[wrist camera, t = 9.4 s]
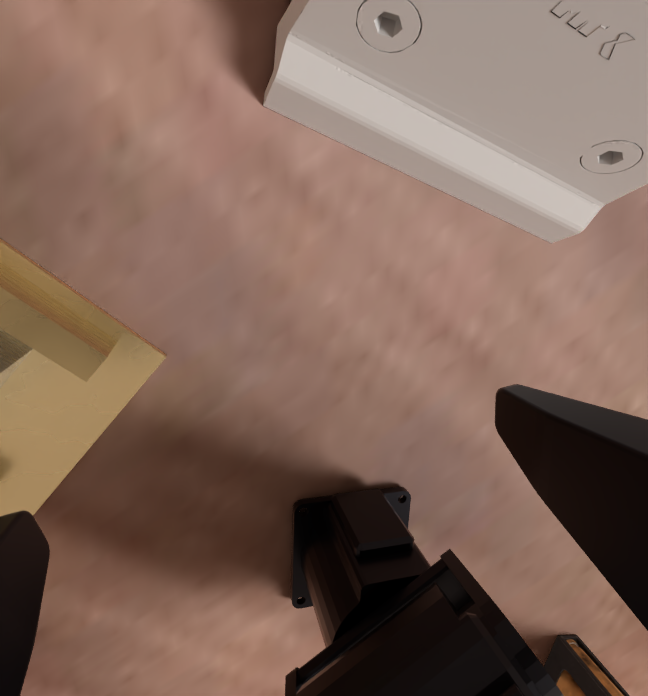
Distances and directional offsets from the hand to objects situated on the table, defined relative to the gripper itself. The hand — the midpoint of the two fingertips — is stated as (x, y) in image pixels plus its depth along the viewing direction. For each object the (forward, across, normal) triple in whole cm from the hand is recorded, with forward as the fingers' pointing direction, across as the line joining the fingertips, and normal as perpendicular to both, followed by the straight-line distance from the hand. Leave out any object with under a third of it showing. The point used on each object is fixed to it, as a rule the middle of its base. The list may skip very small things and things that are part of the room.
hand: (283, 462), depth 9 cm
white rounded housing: (+14, -11, -6) cm, 19 cm away
